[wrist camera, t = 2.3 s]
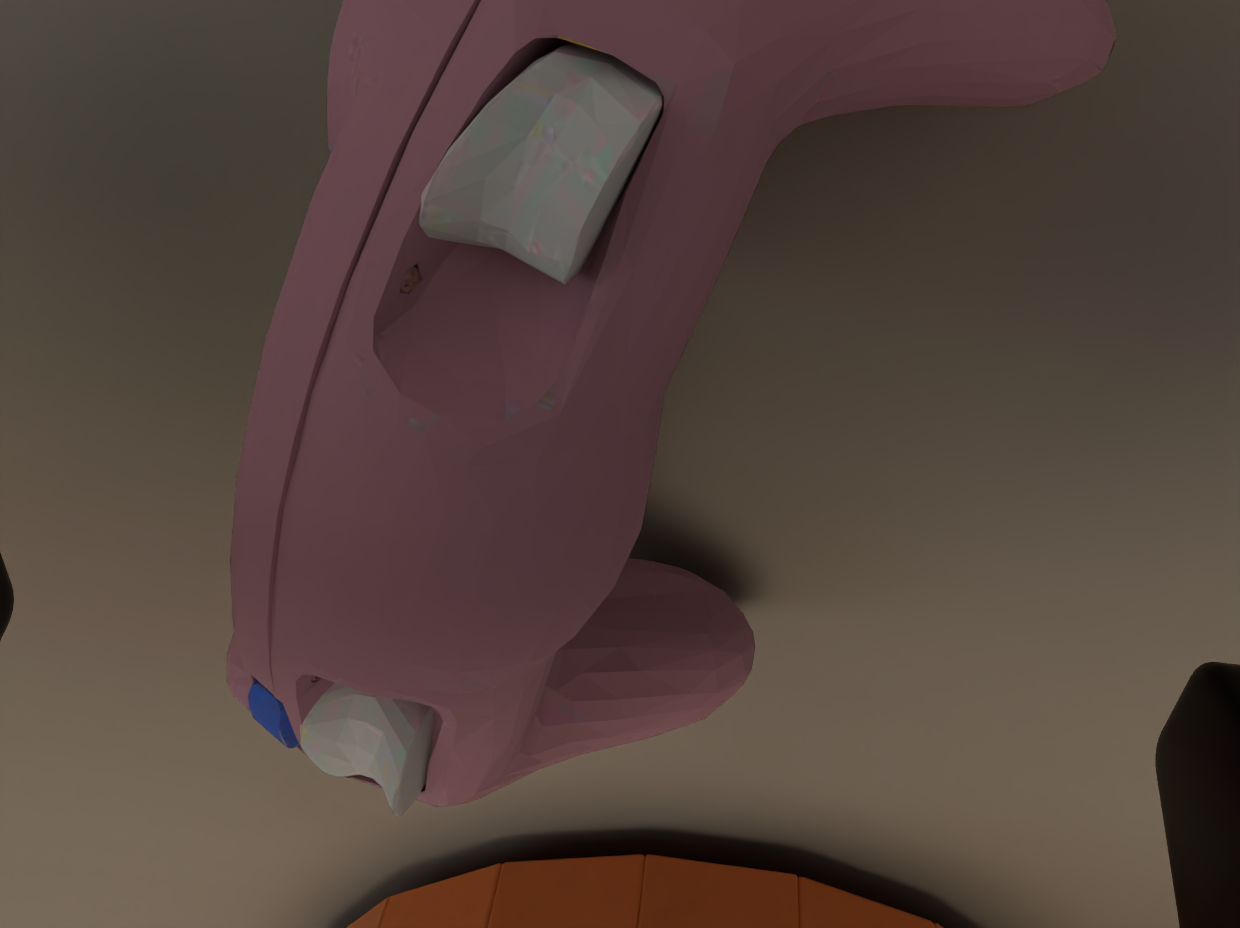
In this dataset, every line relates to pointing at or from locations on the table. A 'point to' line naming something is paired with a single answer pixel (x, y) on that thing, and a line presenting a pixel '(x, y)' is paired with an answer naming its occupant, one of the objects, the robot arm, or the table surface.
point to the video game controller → (534, 358)
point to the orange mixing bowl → (630, 898)
